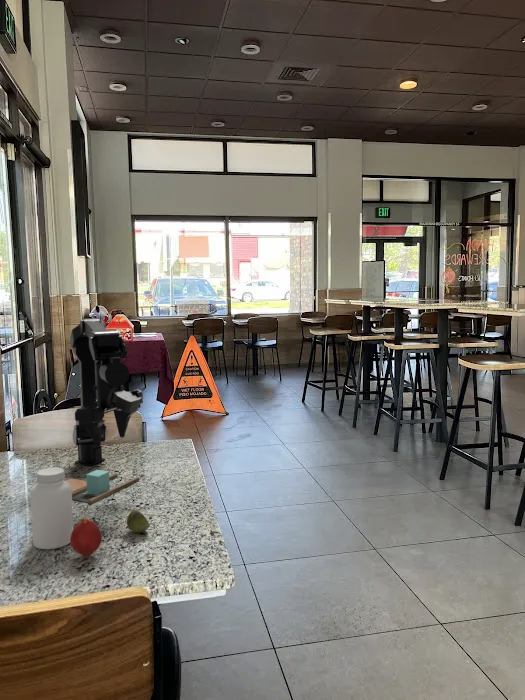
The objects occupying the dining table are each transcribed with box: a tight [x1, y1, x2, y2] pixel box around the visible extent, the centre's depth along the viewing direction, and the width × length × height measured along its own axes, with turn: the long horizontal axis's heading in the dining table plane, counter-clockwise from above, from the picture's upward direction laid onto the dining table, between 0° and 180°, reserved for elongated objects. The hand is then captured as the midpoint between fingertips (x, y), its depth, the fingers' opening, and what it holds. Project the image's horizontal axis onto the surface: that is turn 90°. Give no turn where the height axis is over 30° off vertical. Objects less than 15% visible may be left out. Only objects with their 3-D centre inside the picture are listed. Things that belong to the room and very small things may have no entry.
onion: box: [69, 517, 103, 558], centre depth 108 cm, size 6×6×8 cm
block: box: [85, 469, 111, 496], centre depth 143 cm, size 4×4×5 cm
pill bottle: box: [29, 467, 74, 550], centre depth 114 cm, size 8×8×15 cm
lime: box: [126, 509, 150, 533], centre depth 119 cm, size 4×5×5 cm
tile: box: [65, 478, 87, 492], centre depth 146 cm, size 8×8×1 cm
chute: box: [72, 473, 140, 504], centre depth 145 cm, size 8×18×1 cm, turn 154°
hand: (110, 441), depth 142 cm, fingers open, 9 cm apart
